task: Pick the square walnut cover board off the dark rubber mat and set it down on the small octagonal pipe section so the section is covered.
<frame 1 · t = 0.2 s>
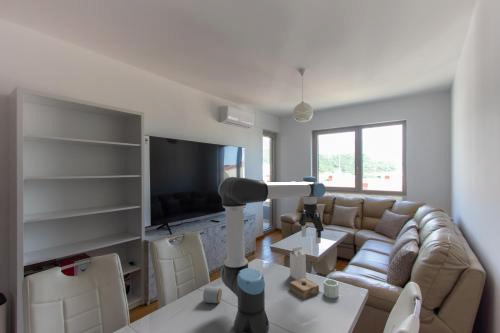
hand: (310, 239, 140), 27 cm above the table, fingers open, 13 cm apart
lid: (304, 291, 133), point 1 cm above the table, touching mat
milk carton: (298, 277, 151), on the table
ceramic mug: (213, 300, 126), on the table
mat: (304, 292, 133), on the table
octagonal pipe section: (331, 295, 130), on the table
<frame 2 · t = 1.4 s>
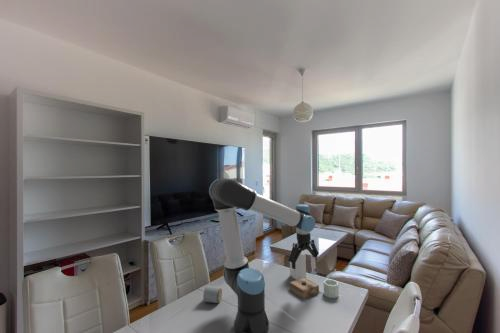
hand: (304, 271, 134), 12 cm above the table, fingers open, 13 cm apart
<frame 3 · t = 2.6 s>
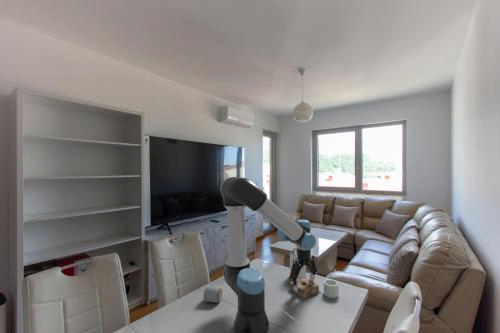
hand: (304, 287, 133), 2 cm above the table, fingers closed on lid, 11 cm apart
lid: (304, 291, 133), point 1 cm above the table, touching gripper, mat
everything else where it was.
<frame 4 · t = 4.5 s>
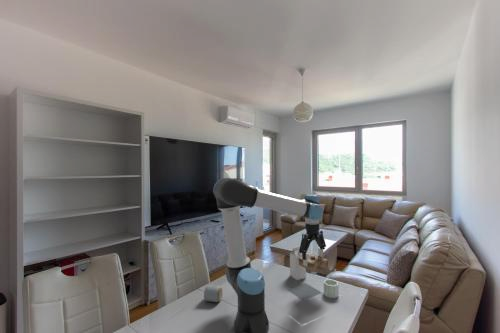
hand: (313, 262, 132), 16 cm above the table, fingers closed on lid, 11 cm apart
lid: (313, 265, 132), point 15 cm above the table, touching gripper
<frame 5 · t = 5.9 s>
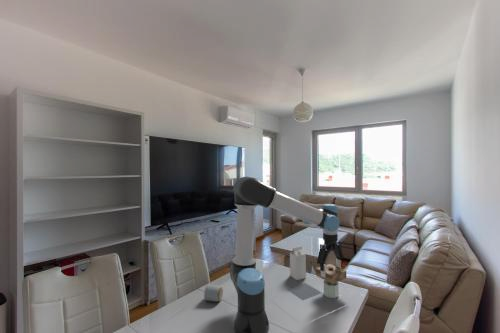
hand: (330, 273, 130), 11 cm above the table, fingers closed on lid, 11 cm apart
lid: (331, 276, 130), point 10 cm above the table, touching gripper
when the fingers open (9 cm above the table, at t = 6.8 s): lid stays where it is, resting on octagonal pipe section.
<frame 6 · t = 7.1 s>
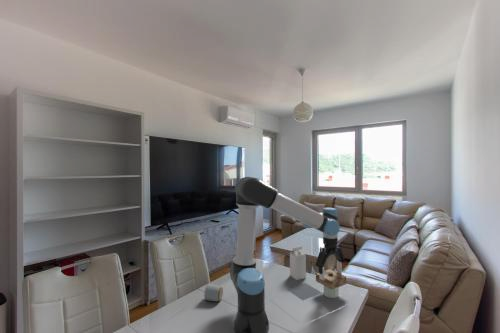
hand: (330, 276, 130), 10 cm above the table, fingers open, 13 cm apart
lid: (330, 282, 130), point 7 cm above the table, touching octagonal pipe section
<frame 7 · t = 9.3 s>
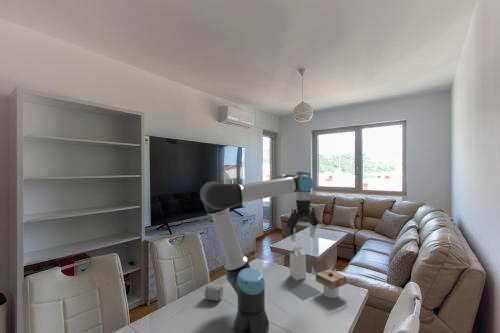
hand: (302, 239, 130), 30 cm above the table, fingers open, 13 cm apart
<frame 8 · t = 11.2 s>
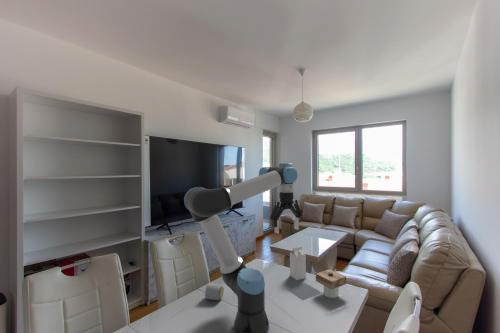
hand: (286, 231, 130), 35 cm above the table, fingers open, 13 cm apart
at the end: lid inside the target area on the octagonal pipe section (0.0 cm from its centre), point 6.8 cm above the octagonal pipe section's base; lid tilted 0°; the gripper is holding nothing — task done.
